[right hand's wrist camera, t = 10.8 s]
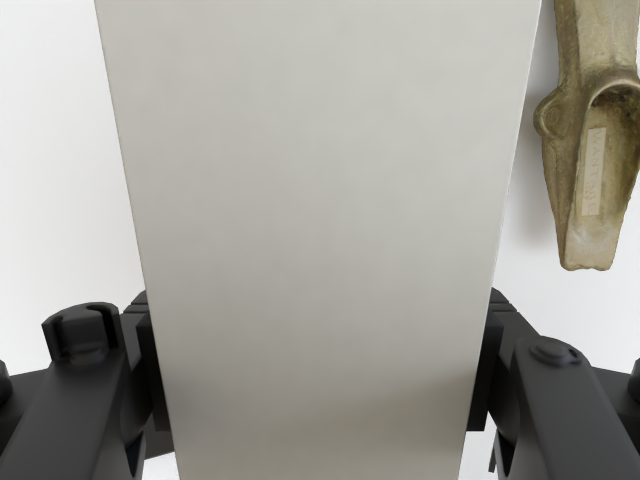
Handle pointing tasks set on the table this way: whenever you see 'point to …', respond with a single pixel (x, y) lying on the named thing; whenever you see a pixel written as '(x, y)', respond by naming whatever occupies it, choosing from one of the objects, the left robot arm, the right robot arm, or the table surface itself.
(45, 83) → the table surface
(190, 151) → the bar
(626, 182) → the tool
